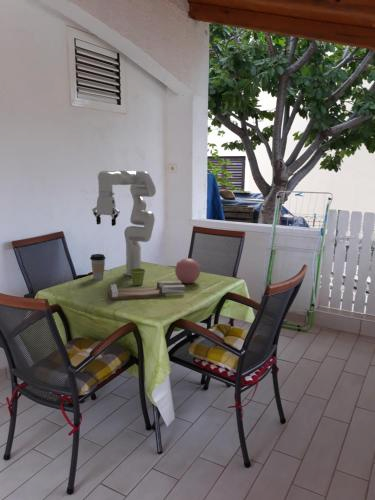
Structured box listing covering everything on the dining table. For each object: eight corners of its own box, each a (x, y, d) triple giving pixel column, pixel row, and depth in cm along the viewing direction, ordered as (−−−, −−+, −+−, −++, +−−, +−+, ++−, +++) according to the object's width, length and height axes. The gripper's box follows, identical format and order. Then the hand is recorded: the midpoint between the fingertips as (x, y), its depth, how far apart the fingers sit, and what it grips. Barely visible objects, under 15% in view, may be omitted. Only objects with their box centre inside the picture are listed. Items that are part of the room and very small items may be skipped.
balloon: (189, 276, 265) (190, 253, 262) (204, 284, 247) (205, 260, 244) (168, 278, 258) (168, 255, 255) (181, 287, 241) (181, 262, 237)
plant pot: (148, 284, 246) (148, 270, 244) (136, 287, 239) (136, 273, 237) (138, 280, 252) (138, 267, 250) (126, 283, 245) (126, 270, 243)
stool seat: (108, 291, 230) (108, 283, 229) (179, 288, 240) (180, 280, 239) (110, 300, 217) (110, 291, 216) (185, 295, 227) (185, 287, 226)
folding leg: (110, 288, 229) (110, 283, 228) (115, 288, 229) (115, 283, 229) (112, 297, 215) (112, 291, 214) (117, 296, 216) (117, 291, 215)
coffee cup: (109, 278, 256) (108, 255, 252) (98, 281, 248) (97, 257, 245) (98, 275, 261) (97, 252, 257) (87, 278, 253) (86, 255, 250)
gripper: (122, 194, 226) (122, 225, 230) (95, 193, 232) (96, 222, 236) (115, 195, 219) (116, 227, 223) (88, 194, 225) (89, 224, 229)
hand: (106, 224), depth 229 cm, fingers open, 9 cm apart
